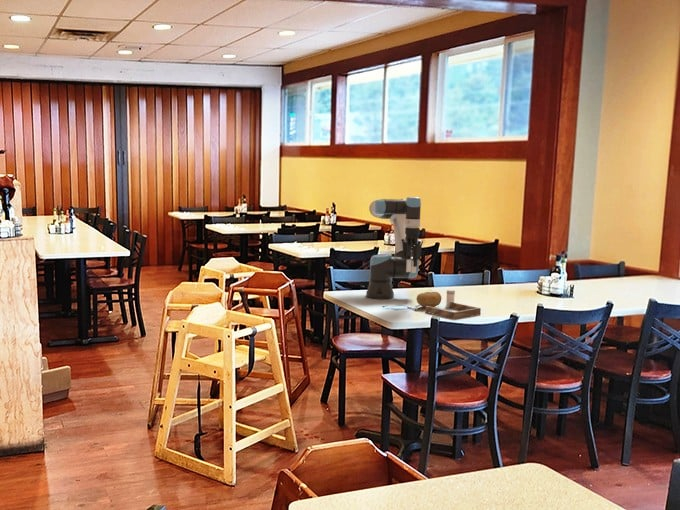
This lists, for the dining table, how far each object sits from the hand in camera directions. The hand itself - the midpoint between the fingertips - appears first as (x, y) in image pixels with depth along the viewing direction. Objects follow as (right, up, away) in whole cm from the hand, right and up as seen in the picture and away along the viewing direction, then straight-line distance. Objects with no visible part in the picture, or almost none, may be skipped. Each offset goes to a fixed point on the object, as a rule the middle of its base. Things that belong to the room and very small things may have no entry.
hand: (411, 272), depth 366 cm
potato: (+8, -18, -8) cm, 21 cm away
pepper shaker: (+20, -17, -3) cm, 27 cm away
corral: (+18, -20, -20) cm, 33 cm away
